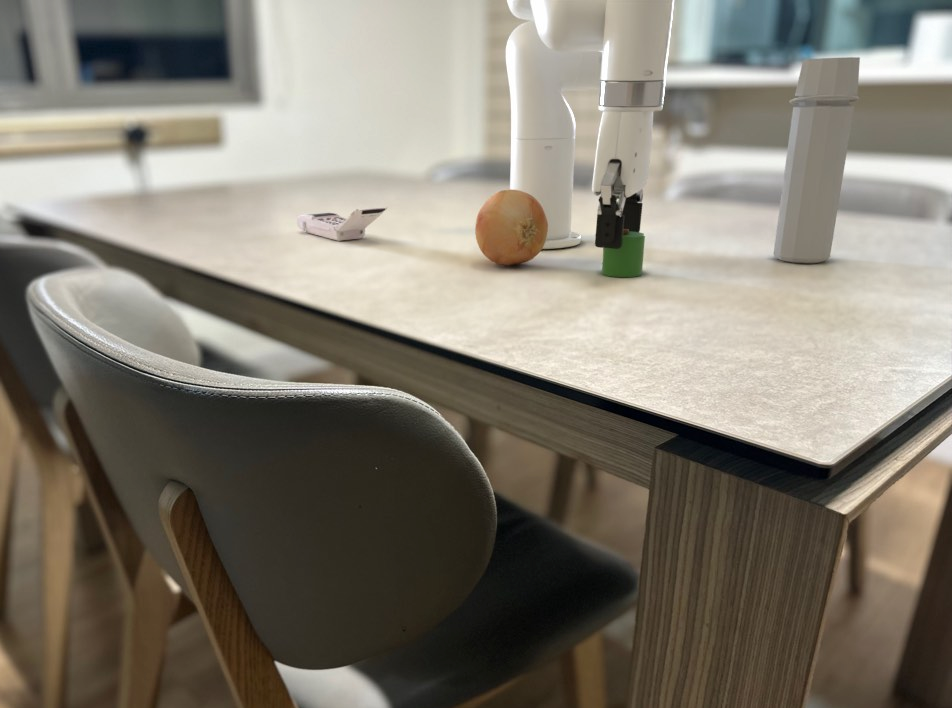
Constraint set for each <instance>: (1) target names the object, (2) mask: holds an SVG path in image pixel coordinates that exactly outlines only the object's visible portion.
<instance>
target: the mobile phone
mask: <svg viewBox="0 0 952 708" xmlns="http://www.w3.org/2000/svg"><path fill="white" fill-rule="evenodd" d="M388 209H389V206H386V207H378V208H376V207H375V208H367V209H366V208H365V209H359V208H356V209H355V210H353V212H351V213H350V214H349V216H348V217H347V218H346V217H343V216H340V214H338V213H335V212H323V213H322V212H321V213H310V214H309V213H308V214H300V215H296V226H297V227H298V228H299V229H300V230H302V231H303V233H307V234H311V235H316V236H319V237H322V238H326V239H330V240H334V241H338V242H343V241H351V240H359V239H363V238H364V237H365V234H366V228H367V227H368V226H370V225H371V224H372V223H373V222H374V221H375V220H377V219H378V218H379V217H380V216H381V215H382V214H383V213H384V212H386V211H387V210H388Z"/></svg>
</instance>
